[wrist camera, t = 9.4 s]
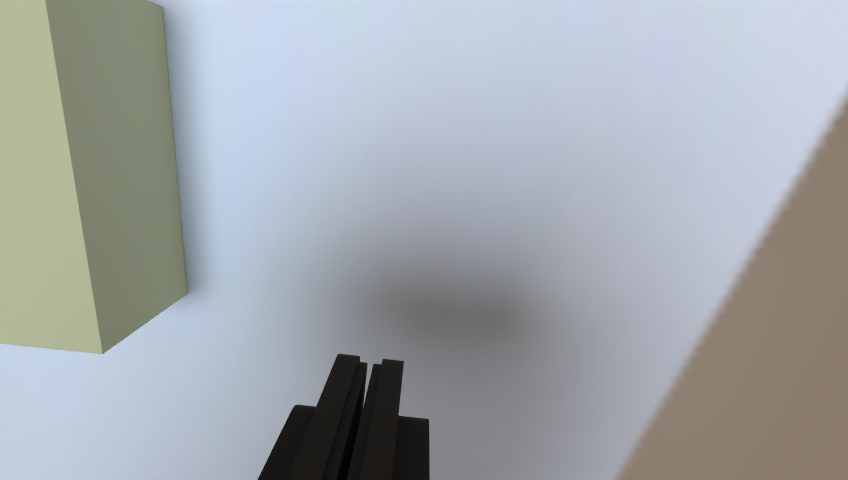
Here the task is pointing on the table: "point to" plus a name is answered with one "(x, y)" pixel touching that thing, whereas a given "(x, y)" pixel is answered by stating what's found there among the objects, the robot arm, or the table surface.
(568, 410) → the table surface
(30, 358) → the table surface
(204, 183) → the table surface
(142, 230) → the slab
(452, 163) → the table surface
